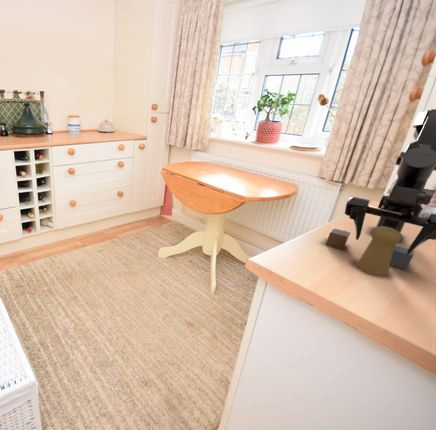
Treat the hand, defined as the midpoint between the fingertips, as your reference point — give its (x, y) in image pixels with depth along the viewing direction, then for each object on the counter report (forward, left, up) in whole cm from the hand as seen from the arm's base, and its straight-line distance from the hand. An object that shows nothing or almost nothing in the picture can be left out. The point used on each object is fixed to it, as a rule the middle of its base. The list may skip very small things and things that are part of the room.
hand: (381, 246), depth 68 cm
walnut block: (-9, -9, -7) cm, 15 cm away
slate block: (-9, +4, -7) cm, 12 cm away
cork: (-1, 0, -7) cm, 7 cm away
